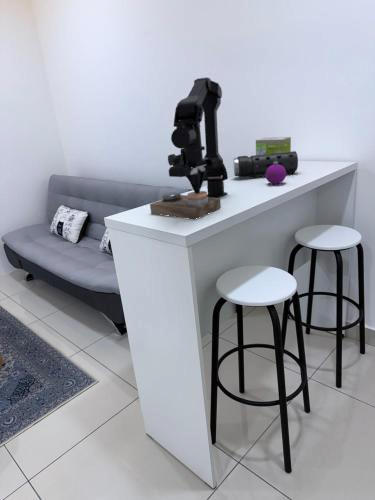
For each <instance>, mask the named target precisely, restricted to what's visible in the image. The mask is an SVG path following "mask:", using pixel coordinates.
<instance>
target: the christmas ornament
mask: <svg viewBox="0 0 375 500" xmlns="http://www.w3.org/2000/svg"><path fill="white" fill-rule="evenodd" d="M276 161H277V160H276ZM273 164H274V165H271V166H270V167H268V169H267V171H266V175H265V178H266V180H267V181H268V183H269V184H272V185H278V184H282V182H284V180H285V179H286V177H287V174H286V170H285V168H284V167H283V166H282V165H278V162H275V160H274V162H273Z"/></svg>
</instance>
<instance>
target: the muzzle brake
mask: <svg viewBox="0 0 375 500" xmlns="http://www.w3.org/2000/svg"><path fill="white" fill-rule="evenodd" d="M274 160H275V162H278V165H282V166H283V167H284V168H285V170H286V175H288V174H295V173H296V172H297V170H298V167H299V158H298V153H297V151H295V150H293V151H292V150H291V152H285V153H273V154H266V155H256V154H255V155H250V156H248V155H240V156H237V157H234V158H233V175H234V177H238V178H246V177H247V178H248V179H251V178H253V179H255V178H256V177H257V176H258V177H259V176H266V171H267V169H268V167H270V166H271V165H274V164H273V162H274ZM276 160H277V161H276Z"/></svg>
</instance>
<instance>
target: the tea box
mask: <svg viewBox="0 0 375 500" xmlns="http://www.w3.org/2000/svg"><path fill="white" fill-rule="evenodd" d="M291 138H292V137H291V136H282V137H281V136H280V137H263V138H259V139H255V155H266V154H273V153H285V152H292V149H291V148H292V147H291V146H292V145H291V142H292V139H291Z"/></svg>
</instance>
